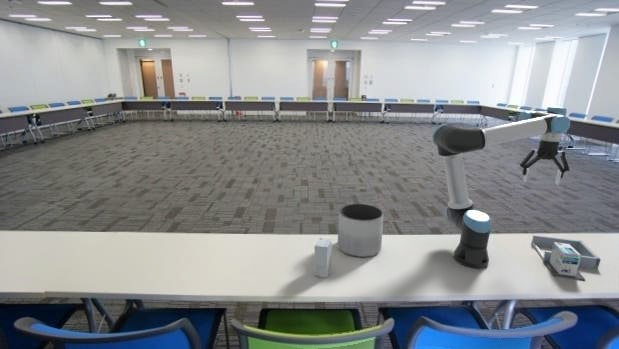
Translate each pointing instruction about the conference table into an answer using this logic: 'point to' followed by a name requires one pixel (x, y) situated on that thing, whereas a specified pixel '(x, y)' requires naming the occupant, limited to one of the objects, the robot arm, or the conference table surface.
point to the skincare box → (323, 257)
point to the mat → (555, 273)
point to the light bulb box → (565, 259)
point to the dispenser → (588, 255)
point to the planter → (360, 230)
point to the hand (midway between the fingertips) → (540, 182)
